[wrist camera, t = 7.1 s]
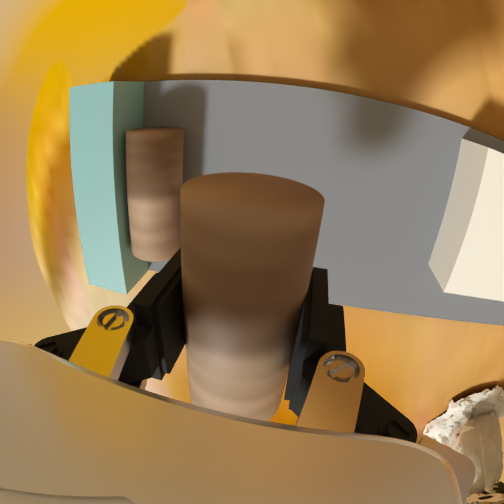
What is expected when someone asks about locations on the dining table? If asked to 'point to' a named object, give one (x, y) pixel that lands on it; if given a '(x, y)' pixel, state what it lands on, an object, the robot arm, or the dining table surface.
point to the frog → (476, 440)
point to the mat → (338, 179)
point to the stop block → (105, 179)
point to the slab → (473, 227)
